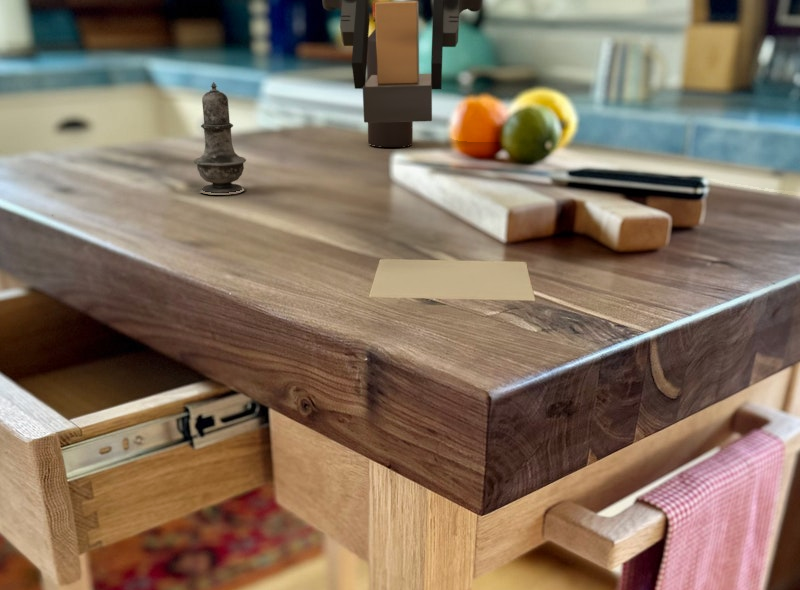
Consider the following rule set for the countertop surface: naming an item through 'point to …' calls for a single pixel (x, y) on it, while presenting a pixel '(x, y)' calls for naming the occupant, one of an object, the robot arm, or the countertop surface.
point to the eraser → (397, 68)
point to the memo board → (452, 280)
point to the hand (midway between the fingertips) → (397, 75)
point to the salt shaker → (218, 146)
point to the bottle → (385, 131)
